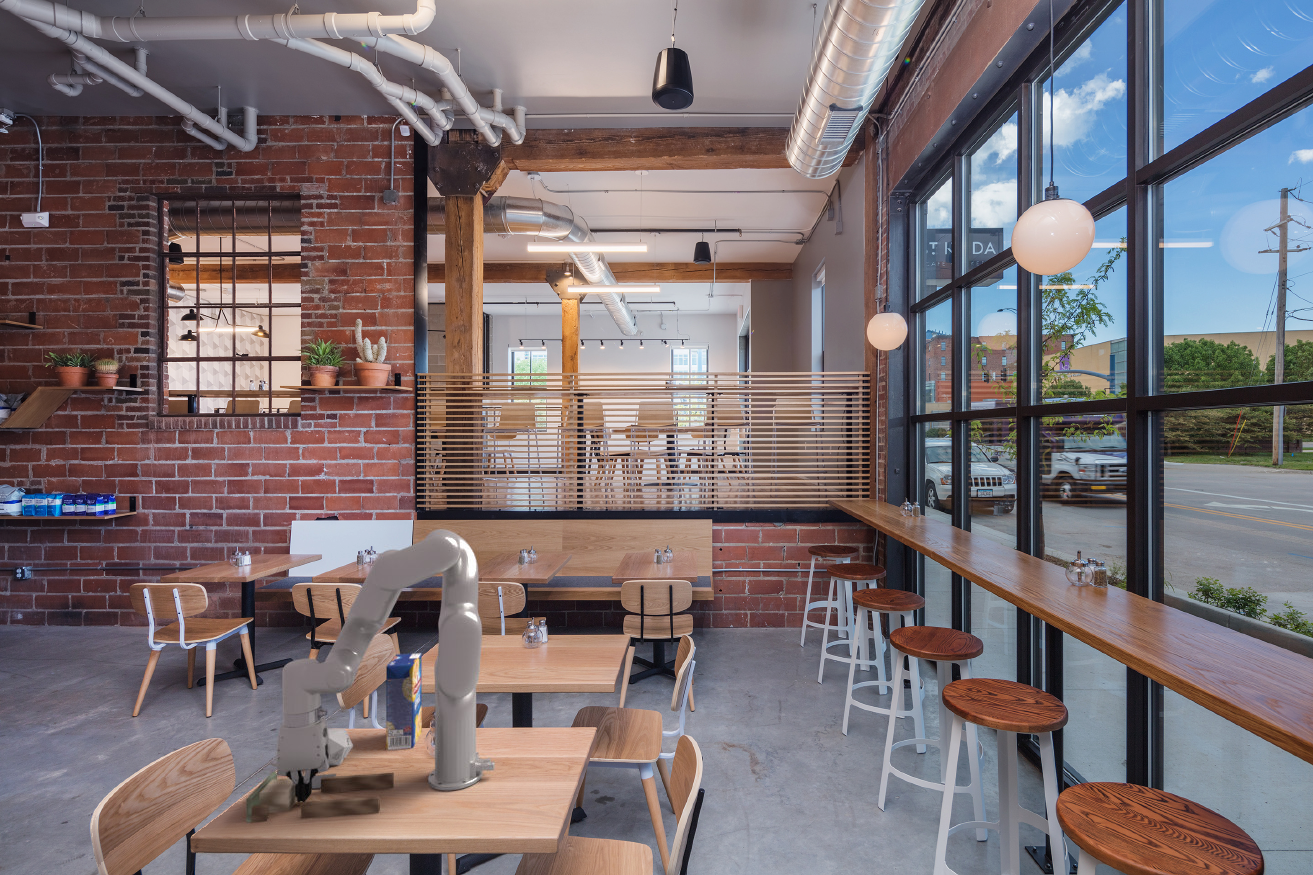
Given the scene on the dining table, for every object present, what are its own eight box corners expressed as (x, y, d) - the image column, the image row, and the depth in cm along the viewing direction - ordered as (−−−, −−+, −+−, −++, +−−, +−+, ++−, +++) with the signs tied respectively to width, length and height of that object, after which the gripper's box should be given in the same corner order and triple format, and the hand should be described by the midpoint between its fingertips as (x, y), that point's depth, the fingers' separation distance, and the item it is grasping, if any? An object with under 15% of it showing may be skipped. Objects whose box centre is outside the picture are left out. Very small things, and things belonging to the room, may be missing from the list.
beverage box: (421, 731, 185) (421, 652, 186) (413, 748, 174) (413, 664, 175) (396, 732, 184) (396, 654, 185) (386, 750, 173) (386, 666, 174)
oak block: (299, 797, 150) (299, 777, 150) (288, 811, 144) (288, 790, 144) (271, 799, 149) (272, 779, 149) (259, 813, 143) (259, 792, 143)
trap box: (393, 785, 154) (393, 763, 155) (378, 812, 143) (378, 789, 143) (272, 793, 151) (272, 771, 151) (246, 822, 139) (246, 798, 139)
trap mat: (336, 774, 160) (336, 773, 160) (325, 788, 153) (325, 787, 153) (301, 777, 159) (301, 776, 159) (289, 790, 152) (289, 789, 152)
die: (324, 777, 160) (351, 738, 164) (296, 756, 162) (324, 718, 165) (339, 774, 168) (365, 737, 171) (313, 754, 170) (339, 718, 173)
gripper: (342, 707, 152) (344, 787, 151) (274, 712, 150) (275, 793, 149) (331, 720, 144) (332, 804, 144) (258, 726, 142) (260, 811, 142)
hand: (303, 798), depth 146 cm, fingers closed
